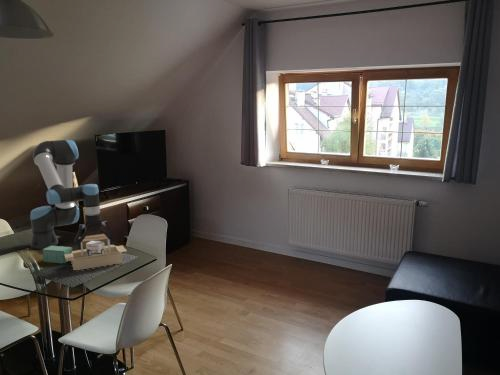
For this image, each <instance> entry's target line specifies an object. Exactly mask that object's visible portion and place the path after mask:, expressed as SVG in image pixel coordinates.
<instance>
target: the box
mask: <svg viewBox="0 0 500 375" xmlns="http://www.w3.org/2000/svg"><path fill="white" fill-rule="evenodd" d="M72 251H74V250H73V247H71V246H62V245H60V246H58V245H56V246H49V247H47V248H44V249H42V260H43V263H52V264H63V263H65V264H67V263H69V262H68V261H66V259H65V256H64V255H65V254H70V253H72ZM66 262H67V263H66Z"/></svg>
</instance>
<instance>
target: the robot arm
mask: <svg viewBox="0 0 500 375" xmlns="http://www.w3.org/2000/svg"><path fill="white" fill-rule="evenodd" d="M79 156H80V155H79V150H78V146H77V144H76V142H75V141H74V140H72V139H60V140H59V139H57V140H45V141H41V142H40V143H39V144H37V145H36V147H35V148H34V150H33V153H32V160H33V162H34V165H36V166H38V169H39V171H40V173H41V176H42V178H43V180H44V183H45V185H46V187H47V191H46V195H45V196H46V200H47V203H48V204H49V205H43V206H40V207H39V206H38V207H36V208H34V209H32V210H31V211H30V218H29V219H30V222H31V225H30V226H31V230H32V231H31V232H32V233H31V234H32V235H31V239H30V244H29V245H30V248H31V249H33V250H43V249H45V248H47V247H49V246H58V244H59V239H58V237H57V236H56V232H55V230H54V229H55V227H61V226H68V225H72V224H75V223H77V222H78V221H79V218H80V208H79V206H78V205H77V204H76V202H80V201H83V208H84V209H83V210H84V214H85V215H84V220H85V224H84V223H83V224H81V223H80V224H79V226H78V231H77V233H76V234H75V236H74V240H73V243H74V244H77V247H78V250H81V255H82V256H83V245H82V241H83V239H84V238H85V237H86V236H88V235H89V233H90V232H91V233H93V232H94V233H95V232H98V231H100V232H101V234H105V235H106V237H107V238H108V239H107V241H108V251H111V250H110V245H113V240H112V239H114V238H115V237H116V235H115V234H114V232H113V230H112V229H111V227H110V226H109V223H108V221H107V220H104V221H102V218H101V208H100V194H99V193H100V192H99V185H98V184H96V183H88V184H83V185H78V186H75V187H73V181H74V180H73V177H74V176H73V165H75V164H76V160H78V159H79ZM51 205H54V207H52V206H51ZM102 226H104V227H106V229H107V231H108V232H109V233H110V234H109V233H107V232H106V231H105V229H103V228H102ZM84 228H86V229H85V231H84V232H83V229H84ZM82 232H83V233H82ZM81 234H82V235H81ZM79 237H81V238H80V239H79Z"/></svg>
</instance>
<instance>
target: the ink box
mask: <svg viewBox="0 0 500 375" xmlns="http://www.w3.org/2000/svg"><path fill="white" fill-rule="evenodd" d="M86 251H87V257H88V256H94V255H100V254H105V244H104V242H102V241H90V242H88V243H86Z"/></svg>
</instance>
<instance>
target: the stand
mask: <svg viewBox="0 0 500 375" xmlns="http://www.w3.org/2000/svg"><path fill="white" fill-rule="evenodd" d="M80 238H81V236H79V239H80ZM79 239H78V240H79ZM107 239H108V237H107V236H106V235H105V234H103V233H100V234H94V235H93V234H91V235H86V237H85V238H84V239H83V241H82V245H83V249H86V243H88V242H90V241H102V242H104V244H105V246H108V241H107Z"/></svg>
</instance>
